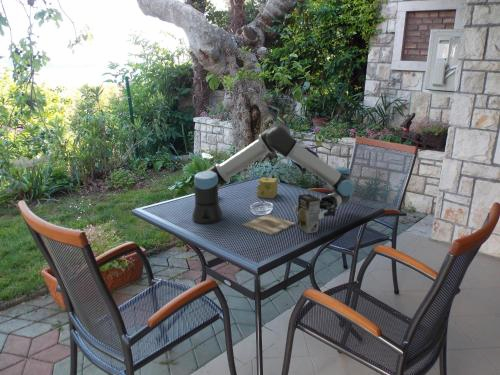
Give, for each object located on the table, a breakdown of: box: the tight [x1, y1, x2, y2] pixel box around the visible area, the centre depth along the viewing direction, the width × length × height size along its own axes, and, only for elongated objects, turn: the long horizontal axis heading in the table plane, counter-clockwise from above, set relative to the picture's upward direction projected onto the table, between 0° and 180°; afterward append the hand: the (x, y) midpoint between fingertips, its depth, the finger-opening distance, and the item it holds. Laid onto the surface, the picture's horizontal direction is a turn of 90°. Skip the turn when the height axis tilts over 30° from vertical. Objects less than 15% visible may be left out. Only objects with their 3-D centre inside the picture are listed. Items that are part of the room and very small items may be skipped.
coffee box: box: [297, 193, 321, 234], centre depth 188 cm, size 9×6×16 cm
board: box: [242, 214, 296, 236], centre depth 196 cm, size 18×18×1 cm
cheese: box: [256, 176, 278, 199], centre depth 240 cm, size 10×11×10 cm
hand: (306, 213), depth 187 cm, fingers open, 13 cm apart
